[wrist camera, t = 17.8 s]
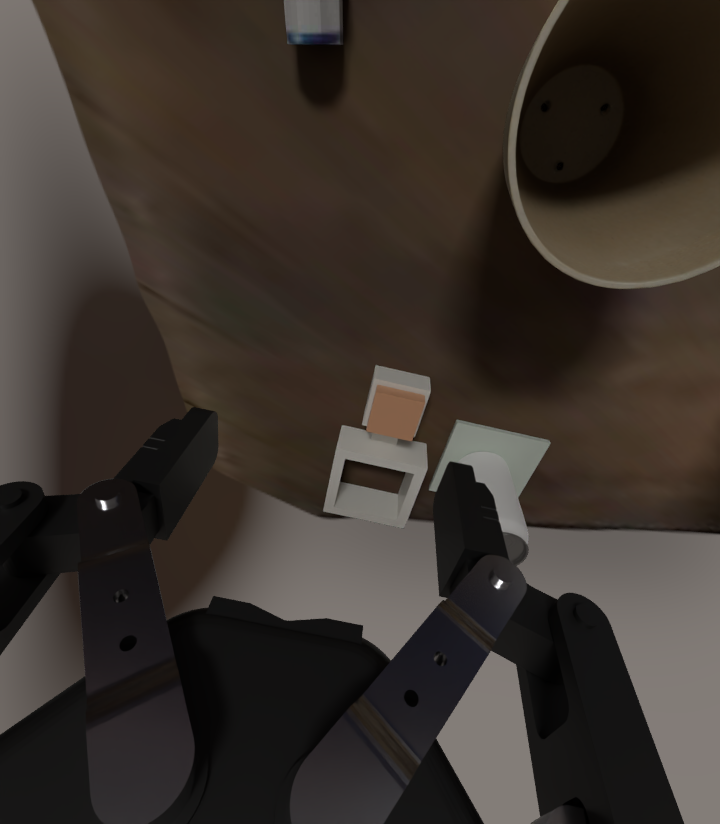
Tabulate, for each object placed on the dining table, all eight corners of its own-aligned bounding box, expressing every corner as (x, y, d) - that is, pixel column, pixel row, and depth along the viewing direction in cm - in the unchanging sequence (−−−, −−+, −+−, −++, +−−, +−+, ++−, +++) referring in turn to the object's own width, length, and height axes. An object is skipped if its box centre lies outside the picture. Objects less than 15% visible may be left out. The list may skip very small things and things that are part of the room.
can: (518, 459, 47) (547, 542, 37) (490, 495, 51) (509, 579, 41) (469, 441, 47) (485, 521, 37) (443, 479, 50) (452, 561, 40)
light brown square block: (424, 381, 43) (425, 403, 40) (411, 417, 46) (411, 441, 43) (379, 370, 43) (376, 391, 40) (369, 408, 46) (366, 431, 42)
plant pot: (437, 201, 34) (455, 236, 21) (529, -45, 26) (655, -245, 13) (595, 260, 35) (706, 327, 22) (731, 42, 27) (1038, -58, 14)
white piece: (449, 381, 43) (453, 403, 40) (404, 502, 54) (403, 528, 50) (355, 360, 43) (350, 380, 39) (329, 486, 54) (323, 511, 50)
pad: (548, 440, 46) (550, 443, 46) (510, 504, 52) (511, 508, 52) (456, 419, 46) (457, 422, 45) (428, 486, 52) (429, 490, 52)
